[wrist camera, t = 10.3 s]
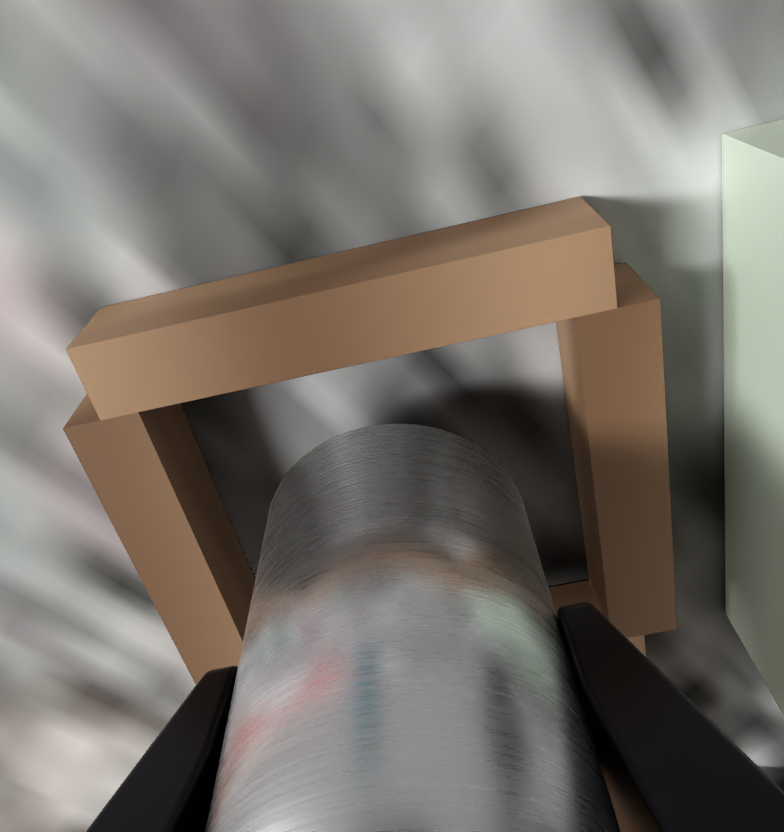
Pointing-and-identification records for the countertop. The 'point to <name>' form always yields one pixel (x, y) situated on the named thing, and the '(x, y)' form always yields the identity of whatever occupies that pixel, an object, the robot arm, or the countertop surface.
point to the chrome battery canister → (404, 655)
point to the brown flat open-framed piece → (365, 342)
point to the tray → (755, 393)
